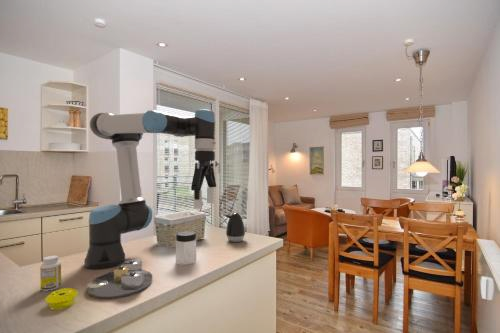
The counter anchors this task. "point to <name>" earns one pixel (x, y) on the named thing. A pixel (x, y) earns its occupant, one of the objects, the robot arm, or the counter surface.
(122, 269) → the carrier
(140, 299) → the counter surface
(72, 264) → the counter surface
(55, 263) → the supplement bottle
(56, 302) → the gear
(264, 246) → the counter surface
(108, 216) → the robot arm
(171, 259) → the counter surface
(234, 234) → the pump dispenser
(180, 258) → the jar
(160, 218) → the storage basket
